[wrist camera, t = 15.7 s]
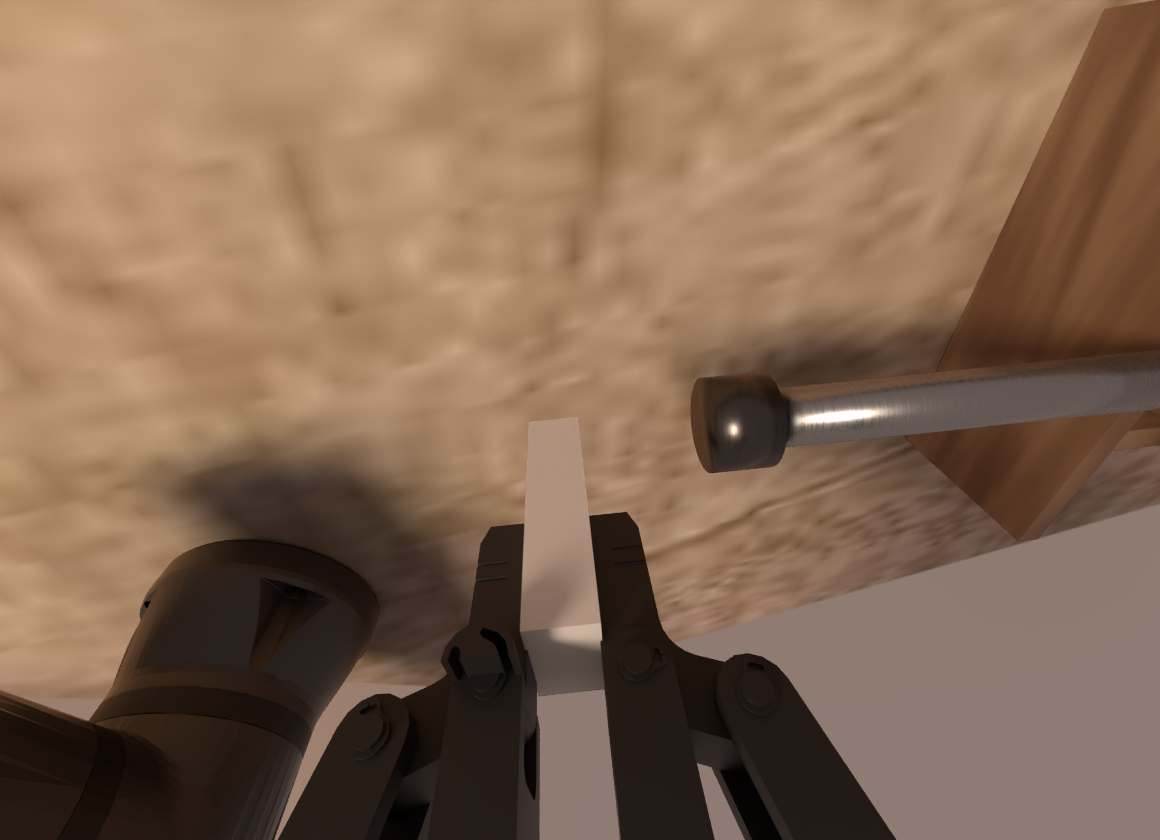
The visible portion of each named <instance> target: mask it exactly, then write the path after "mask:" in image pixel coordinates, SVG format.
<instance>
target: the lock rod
mask: <svg viewBox="0 0 1160 840" xmlns="http://www.w3.org/2000/svg"><path fill="white" fill-rule="evenodd" d="M1154 409H1160V350H1154V351H1144V352H1134V353H1124V354H1114V355H1104V356H1094V357H1084V358H1075V359H1065V360H1055V361H1045V362H1035V363H1025V364H1015V365H1005V366H995V367H985V368H975V369H965V370H955V371H945V372H935V373H925V374H915V375H905V376H895V377H885V378H875V379H865V380H855V381H845V382H835V383H825V384H815V385H805V386H795V387H785V388H778V387H777V385H776V383H775V382H774V380H773V379H772V378H771V377H770V376H769V375H768V374H766V373H764V372H755V373H745V374H735V375H725V376H715V377H705V378H699V379H697V381H696V382H695V384H694V387H693V391H692V396H691V426H692V433H693V439H694V444H695V448H696V451H697V454H698V457H699V460H700V462H701V464H702V466H703V468H704V469H705V470H706V471H707V472H708V473H719V472H728V471H738V470H748V469H757V468H767V467H773V466H775V465H777V464H778V463H779V462H780V460H781V458H782V456H783V454H784V451H785V447H793V446H803V445H813V444H822V443H832V442H842V441H852V440H862V439H871V438H881V437H891V436H901V435H910V434H920V433H930V432H940V431H949V430H959V429H969V428H979V427H988V426H998V425H1008V424H1018V423H1027V422H1037V421H1047V420H1057V419H1066V418H1076V417H1086V416H1096V415H1105V414H1115V413H1125V412H1135V411H1145V410H1154Z"/></svg>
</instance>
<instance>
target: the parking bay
mask: <svg viewBox="0 0 1160 840" xmlns="http://www.w3.org/2000/svg"><path fill="white" fill-rule="evenodd" d="M1154 350H1160V0H1154V1H1149V2H1143V3H1137V4H1131V5H1126V6H1120V7H1114V8H1109V9H1105V11H1104V13H1103V15H1102V17H1101V20H1100V22H1099V24H1098V26H1097V28H1096V30H1095V32H1094V35H1093V37H1092V39H1091V41H1090V43H1089V45H1088V47H1087V50H1086V52H1085V54H1084V56H1083V58H1082V60H1081V62H1080V65H1079V67H1078V69H1077V71H1076V73H1075V75H1074V77H1073V80H1072V82H1071V84H1070V86H1069V88H1068V90H1067V92H1066V95H1065V97H1064V99H1063V101H1062V103H1061V105H1060V107H1059V110H1058V112H1057V114H1056V116H1055V118H1054V120H1053V122H1052V125H1051V127H1050V129H1049V131H1048V133H1047V135H1046V137H1045V139H1044V142H1043V144H1042V146H1041V148H1040V150H1039V152H1038V154H1037V157H1036V159H1035V161H1034V163H1033V165H1032V167H1031V169H1030V172H1029V174H1028V176H1027V178H1026V180H1025V182H1024V184H1023V187H1022V189H1021V191H1020V193H1019V195H1018V197H1017V199H1016V202H1015V204H1014V206H1013V208H1012V210H1011V212H1010V214H1009V217H1008V219H1007V221H1006V223H1005V225H1004V227H1003V229H1002V232H1001V234H1000V236H999V238H998V240H997V242H996V244H995V247H994V249H993V251H992V253H991V255H990V257H989V259H988V262H987V264H986V266H985V268H984V270H983V272H982V274H981V277H980V279H979V281H978V283H977V285H976V287H975V289H974V292H973V294H972V296H971V298H970V300H969V302H968V304H967V306H966V309H965V311H964V313H963V315H962V317H961V319H960V321H959V324H958V326H957V328H956V330H955V332H954V334H953V336H952V339H951V341H950V343H949V345H948V347H947V349H946V351H945V354H944V356H943V358H942V360H941V362H940V364H939V366H938V369H937V371H936V372H945V371H955V370H965V369H975V368H985V367H995V366H1005V365H1015V364H1025V363H1035V362H1045V361H1055V360H1065V359H1075V358H1084V357H1094V356H1104V355H1114V354H1124V353H1134V352H1144V351H1154ZM905 438H906V439H907V440H908V441H909V442H910V443H911V444H912V445H913V446H914V447H915V448H917V449H918V450H919V451H920V452H921V453H922V454H923V455H924V456H925V457H926V458H927V459H929V460H930V461H931V462H932V463H933V464H934V465H935V466H936V467H937V468H938V469H940V470H941V471H942V472H943V473H944V474H945V475H946V476H947V477H948V478H949V479H951V480H952V481H953V482H954V483H955V484H956V485H957V486H958V487H959V488H960V489H962V490H963V491H964V492H965V493H966V494H967V495H968V496H969V497H970V498H971V499H973V500H974V501H975V502H976V503H977V504H978V505H979V506H980V507H981V508H982V509H984V510H985V511H986V512H987V513H988V514H989V515H990V516H991V517H992V518H993V519H995V520H996V521H997V522H998V523H999V524H1000V525H1001V526H1002V527H1003V528H1004V529H1006V530H1007V531H1008V532H1009V533H1010V534H1011V535H1012V536H1013V537H1014V538H1015V539H1017V540H1018V541H1024V540H1034V539H1038V538H1039V537H1040V536H1041V534H1042V533H1043V532H1044V531H1045V530H1046V528H1047V527H1048V526H1049V525H1050V524H1051V523H1052V521H1053V520H1054V519H1055V518H1056V517H1057V515H1058V514H1059V513H1060V512H1061V511H1062V509H1063V508H1064V507H1065V506H1066V505H1067V504H1068V502H1069V501H1070V500H1071V499H1072V498H1073V496H1074V495H1075V494H1076V493H1077V492H1078V490H1079V489H1080V488H1081V487H1082V486H1083V484H1084V483H1085V482H1086V481H1087V480H1088V479H1089V477H1090V476H1091V475H1092V474H1093V473H1094V471H1095V470H1096V469H1097V468H1098V467H1099V465H1100V464H1101V463H1102V462H1103V461H1104V460H1105V458H1106V457H1107V456H1108V455H1109V454H1110V452H1111V451H1112V450H1120V449H1129V448H1139V447H1149V446H1158V445H1160V409H1154V410H1145V411H1135V412H1125V413H1115V414H1105V415H1096V416H1086V417H1076V418H1066V419H1057V420H1047V421H1037V422H1027V423H1018V424H1008V425H998V426H988V427H979V428H969V429H959V430H949V431H940V432H930V433H920V434H910V435H906V437H905Z"/></svg>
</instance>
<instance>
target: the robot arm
mask: <svg viewBox="0 0 1160 840" xmlns="http://www.w3.org/2000/svg"><path fill="white" fill-rule="evenodd" d="M378 614H379V608H378V603H377V600H376V598H375V596H374V594H373V592H372V591H371V589H370V588H369V587H368V586H367V585H366V584H365V583H364V582H363V581H362V580H361V579H360V578H359V577H358V576H356V575H355V574H354V573H352V572H351V571H350V570H348V569H346V568H345V567H343V566H341V565H340V564H338V563H336V562H334V561H332V560H330V559H327V558H325V557H323V556H320V555H317V554H315V553H312V552H309V551H306V550H302V549H298V548H295V547H290V546H286V545H280V544H274V543H267V542H255V541H230V542H220V543H214V544H208V545H204V546H201V547H197V548H194V549H192V550H189V551H187V552H185V553H183V554H182V555H180V556H178V557H177V558H176V559H175V560H173V561H172V562H171V563H170V564H169V566H168V567H167V568H166V569H165V571H164V572H163V573H162V574H161V576H160V577H159V578H158V579H157V581H156V582H155V583H154V584H153V585H152V587H151V588H150V589H149V591H148V593H147V594H146V596H145V598H144V600H143V603H142V606H141V609H140V619H141V621H140V623H139V625H138V627H137V628H136V630H135V632H134V634H133V636H132V638H131V640H130V643H129V645H128V647H127V650H126V652H125V654H124V657H123V659H122V662H121V665H120V667H119V670H118V673H117V675H116V678H115V681H114V683H113V686H112V688H111V690H110V691H109V693H108V694H107V696H106V697H105V699H104V700H103V701H102V703H101V704H100V706H99V707H98V709H97V710H96V711H95V713H94V714H93V716H92V717H91V718H90V720H89V721H86V720H84V719H81V718H78V717H75V716H72V715H70V714H67V713H63V712H61V711H58V710H55V709H52V708H49V707H47V706H44V705H41V704H38V703H35V702H32V701H29V700H27V699H24V698H21V697H18V696H15V695H12V694H9V693H6V692H4V691H1V690H0V840H274V839H275V836H276V833H277V830H278V828H279V825H280V822H281V819H282V816H283V813H284V811H285V808H286V805H287V802H288V799H289V796H290V794H291V791H292V788H293V785H294V782H295V779H296V777H297V774H298V771H299V768H300V765H301V762H302V759H303V757H304V754H305V751H306V749H307V746H308V743H309V740H310V737H311V735H312V732H313V730H314V727H315V725H316V723H317V721H318V719H319V718H320V716H321V715H322V713H323V712H324V710H325V709H326V707H327V706H328V704H329V703H330V702H331V700H332V699H333V697H334V696H335V694H336V693H337V692H338V690H339V689H340V687H341V686H342V684H343V683H344V681H345V680H346V678H347V677H348V675H349V674H350V672H351V671H352V669H353V667H354V666H355V664H356V663H357V661H358V660H359V659H360V658H361V657H362V655H363V654H364V652H365V651H366V649H367V647H368V645H369V643H370V640H371V637H372V634H373V631H374V628H375V625H376V622H377V619H378ZM441 663H442V665H443V667H444V668H445V670H446V672H447V675H446V676H445V677H444V678H442V679H441V680H439V681H437V682H436V683H434V684H432V685H430V686H428V687H426V688H424V689H422V690H419V691H417V692H415V693H413V694H411V695H409V696H406V697H405V698H402V699H401V698H398V697H396V696H394V695H392V694H376V695H373V696H372V697H369V698H367V699H365V700H362V701H361V702H360V703H359V704H357V705H356V706H355V707H354V708H353V709H352V710H350V711H349V712H348V713H347V715H346V716H345V717H344V719H343V720H342V722H341V723H340V725H339V726H338V727H337V729H336V731H335V733H334V734H333V736H332V738H331V740H330V742H329V744H328V746H327V748H326V750H325V752H324V753H323V755H322V757H321V759H320V761H319V763H318V765H317V767H316V769H315V770H314V772H313V774H312V776H311V778H310V780H309V782H308V784H307V786H306V787H305V789H304V791H303V793H302V795H301V797H300V799H299V801H298V802H297V805H296V806H295V808H294V810H293V812H292V814H291V816H290V818H289V819H288V821H287V823H286V825H285V827H284V829H283V831H282V833H281V835H280V836H279V838H278V840H539V800H540V796H539V795H540V792H539V790H540V789H539V788H540V786H539V785H540V779H539V777H540V775H539V774H540V762H539V761H540V728H539V722H538V717H537V692H538V695H539V696H546V695H554V694H564V693H573V692H582V691H592V690H601V689H605V696H606V706H607V716H608V717H607V718H608V728H609V736H610V737H609V738H610V747H611V757H612V767H613V776H614V785H615V796H616V805H617V815H618V825H619V834H620V840H714V835H713V831H712V827H711V822H710V818H709V814H708V809H707V805H706V801H705V796H704V792H703V788H702V784H701V779H700V775H699V771H698V766H697V763H699V764H703V765H706V766H709V767H712V769H713V771H714V774H715V776H716V778H717V780H718V782H719V784H720V786H721V789H722V791H723V793H724V795H725V798H726V800H727V802H728V804H729V806H730V808H731V810H732V813H733V815H734V817H735V819H736V821H737V823H738V826H739V828H740V830H741V832H742V834H743V836H744V839H745V840H896V839H895V837H894V836H893V834H892V833H891V831H890V830H889V828H888V827H887V825H886V824H885V822H884V821H883V819H882V818H881V816H880V815H879V813H878V812H877V810H876V809H875V807H874V806H873V804H872V803H871V801H870V800H869V798H868V797H867V795H866V794H865V792H864V791H863V790H862V788H861V786H860V785H859V783H858V782H857V780H856V779H855V777H854V776H853V774H852V773H851V771H850V770H849V768H848V767H847V765H846V764H845V763H844V761H843V760H842V758H841V756H840V755H839V754H838V752H837V751H836V749H835V748H834V746H833V745H832V743H831V742H830V740H829V739H828V737H827V736H826V734H825V733H824V731H823V730H822V728H821V727H820V725H819V724H818V722H817V721H816V719H815V718H814V716H813V715H812V713H811V712H810V710H809V709H808V707H807V706H806V704H805V703H804V701H803V700H802V698H801V697H800V695H799V694H798V692H797V691H796V690H795V688H794V686H793V685H792V683H791V682H790V681H789V679H788V678H787V677H786V676H785V674H784V673H783V672H782V671H781V670H780V669H779V668H778V667H777V665H775V664H773V663H772V662H770V661H768V660H767V659H765V658H764V657H761V656H757V655H752V654H748V653H746V654H740V655H734V656H733V657H731V658H730V659H729V660H727V661H726V662H723V661H718V660H714V659H710V658H706V657H702V656H698V655H695V654H692V653H689V652H686V651H684V650H683V649H681V648H680V647H678V646H677V645H676V644H675V643H674V642H672V641H671V640H670V639H669V638H668V636H667V635H666V633H665V632H664V630H663V628H662V626H661V623H660V620H659V616H658V612H657V608H656V603H655V599H654V594H653V590H652V585H651V581H650V577H649V572H648V568H647V564H646V559H645V555H644V550H643V547H642V541H641V537H640V533H639V528H638V526H637V525H636V523H635V522H634V521H633V520H632V518H631V517H630V516H629V514H628V513H627V512H622V513H612V514H602V515H592V516H589V513H588V504H587V495H586V486H585V477H584V468H583V459H582V450H581V442H580V433H579V424H578V417H574V418H564V419H554V420H544V421H534V422H529V434H528V456H527V479H526V502H525V524H515V525H506V526H496V527H491V528H490V529H489V531H488V533H487V534H486V536H485V538H484V539H483V541H482V543H481V545H480V552H479V559H478V567H477V573H476V583H475V587H474V594H473V601H472V608H471V615H470V622H469V625H468V626H467V627H465V628H464V629H462V630H461V631H459V632H458V633H456V634H455V635H454V637H453V638H452V639H451V641H450V642H449V643H448V644H447V646H446V648H445V650H444V653H443V656H442V658H441Z"/></svg>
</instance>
